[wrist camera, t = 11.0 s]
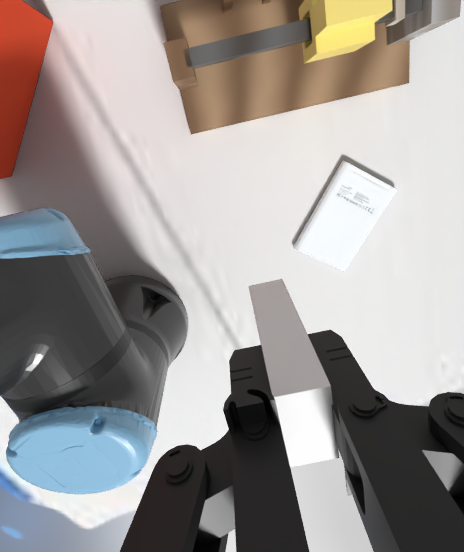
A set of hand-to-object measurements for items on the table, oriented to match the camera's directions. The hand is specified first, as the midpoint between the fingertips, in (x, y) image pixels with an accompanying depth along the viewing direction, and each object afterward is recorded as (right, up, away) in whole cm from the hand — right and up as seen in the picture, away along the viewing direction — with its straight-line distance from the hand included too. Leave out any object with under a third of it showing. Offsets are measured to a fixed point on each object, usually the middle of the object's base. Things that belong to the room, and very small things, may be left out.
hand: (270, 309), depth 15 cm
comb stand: (+4, +26, +21) cm, 34 cm away
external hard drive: (+13, +9, +30) cm, 34 cm away
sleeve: (+7, +25, +16) cm, 31 cm away
